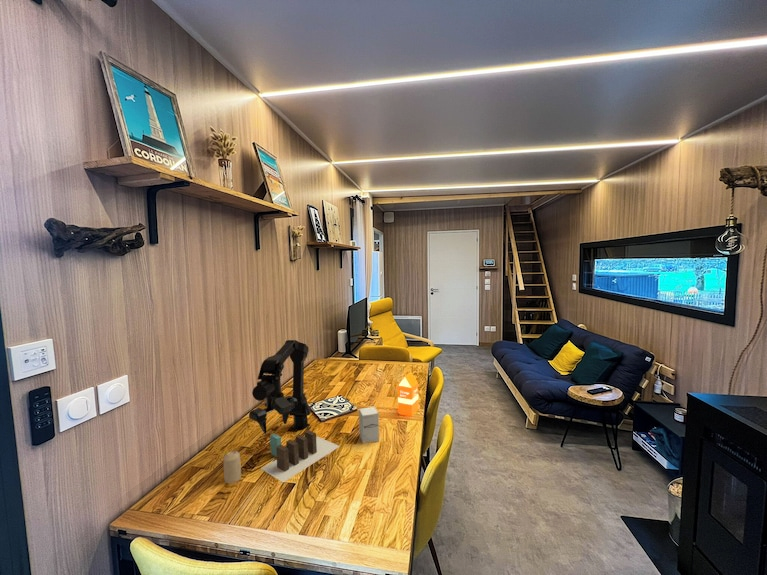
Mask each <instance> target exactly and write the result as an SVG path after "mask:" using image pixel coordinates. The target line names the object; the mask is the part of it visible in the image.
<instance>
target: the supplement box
mask: <svg viewBox="0 0 767 575" xmlns="http://www.w3.org/2000/svg"><path fill="white" fill-rule="evenodd" d="M379 416H380V414H379V412H378V410H377V408H376V406H371V407H363V408H358V424H359V425H358V427H359V428H358V430H359V432H358V433H359V437H360V439H361V442H362V444H367V443H368V444H369V443H374V442H375V443H376V442H379V441H380V430H379V429H380V428H379V426H380V425H379V424H380V423H379Z"/></svg>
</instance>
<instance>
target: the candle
mask: <svg viewBox="0 0 767 575" xmlns="http://www.w3.org/2000/svg"><path fill="white" fill-rule="evenodd" d="M222 462H223V463H222V465H223V477H224V478H223V479H224V483H226V484H229V485H230V484H234V483H237V482H238V481H240V480H241V478H242V466H241V465H242V463H241V453H240V452H239V451H237V450H236V449H235V450H232V451H230V452H227V453H226V454H225V455H224V456H223V457H222Z"/></svg>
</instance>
